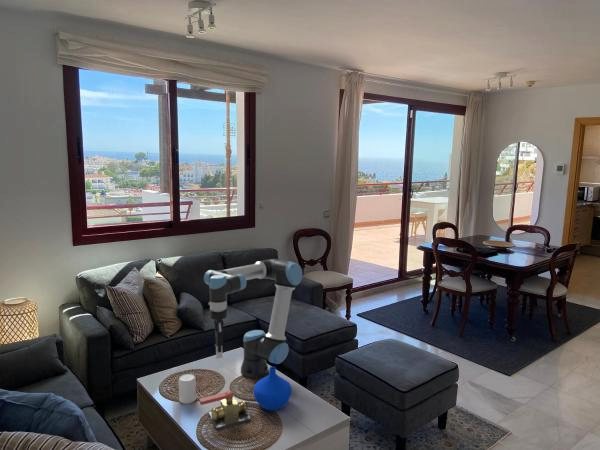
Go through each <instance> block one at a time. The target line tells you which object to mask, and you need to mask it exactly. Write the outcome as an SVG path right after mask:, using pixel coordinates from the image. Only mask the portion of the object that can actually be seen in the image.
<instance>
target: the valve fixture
mask: <svg viewBox="0 0 600 450" xmlns="http://www.w3.org/2000/svg"><path fill="white" fill-rule="evenodd" d="M208 416H209V418H210V420H211V421H212V423H213V426H214V428H215V430H216V431H218V430H221V429H225V428H228V427H232V426H236V425H239V424H242V423H248V422H251V420H252V417H251V415H249V413H248V404H247V402H246V401H245V400H241V402H240V403H239V402H238V401H237V399H236V398H235V397H234V396H233V397H232V398H227V399H223V400H220V408H216V407H213V408H212V409H211V411H208Z"/></svg>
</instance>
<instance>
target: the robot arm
mask: <svg viewBox="0 0 600 450" xmlns="http://www.w3.org/2000/svg"><path fill="white" fill-rule="evenodd" d="M254 279H259V280H262V279H269V280H273V281H274V286H275V288H276V289H275V295H274V300H273V306H272V309H271V310H272V312H271V315H270V316H271V317H270V322H269V326H268V331H267V333H266V332H265V331H264V330H261V329H253V330H249V331H247V332H246V333H245V334H244V335H243V362H242V363H241V366H240V373H241V375H242V376H243V377H245V378H248V379H249V378H250V379H257V378H258V379H259V378H262V377H265V376H266V375H268V374H269V373H268V372H269V367H268V363H267V362H269V363H271V364H274V365H275V364H276V365H279V364H282V362H284V360H286V358H287V356H288V354H289V349H290V347H289V345H288V343H286V342H287V337H286V336H285V332H286V327H287V326H286V325H287V321H288V317H289V311H290V306H291V299H292V294H293V291H294V290H295V289H296V287H297V286H298V285H299V284H300V283H301V281H302V280H303V269H302V267H301V265H300V264H298V263H297V262H293V261H288V260H283V259H280V258H279V259H278V258H271V259H270V258H269V259H263V260H259V261H256V262H255V263H253V264H247V265H243V266H238V267H232V268H227V269H221V270H214V269H209V270H207V271H206V272H205V273H204V275H203V281H204V283H205V284H206V285H208V287H209V288H208V289H209V302H208V305H209V309H210V310H209V315H210V319H211V320H213V324H214V330H215V331H214V332H215V333H214V334H215V335H214V337H215V343H214V346H215V356H216V357H215V359H222V358H223V345H224V344H223V343H224V338H223V337H224V321H223V320H224V319H226V318H227V317H228V316H227V315H228V311H227V309H228V308H227V307H228V303H227V301H228V300H227V299H228V298H227V297H228V296H227V295H230V294H233V293H236V292H240V291H241V290H244V289H245V288H246V286H247V282H248V281H250V280H254Z"/></svg>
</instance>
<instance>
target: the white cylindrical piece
mask: <svg viewBox="0 0 600 450" xmlns="http://www.w3.org/2000/svg"><path fill="white" fill-rule="evenodd" d="M196 382H197V381H196V377H195V375H194V374H192V373H186V374H183V375H180V376H179V379H178V400H179V402H180V403H181V404H185V405H187V404H192V403H194V402H195V401H196V399H197V385H196V384H197V383H196Z"/></svg>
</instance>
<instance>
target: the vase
mask: <svg viewBox="0 0 600 450" xmlns="http://www.w3.org/2000/svg"><path fill="white" fill-rule="evenodd" d="M276 372H277V369H276V367H275V366H270V367H269V373H268V374H267V376H266V375H265V376H264V377H263V378H261V379H260V380H258V381H257V382H256V383H255V385H254V387H253V395H254V399H255V401H256V403H257V404H258V405H259V406H260V407H261V408H262V409H264V410H267V411H279V410H280V409H282V408H284V407H285V406H286V405H287V403H288V402H289V401H290V398H291V396H292V385H291V384H290V381H288V380H287V379H285V378H282V377H281V376H279V375H278V374H277V373H276Z"/></svg>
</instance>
